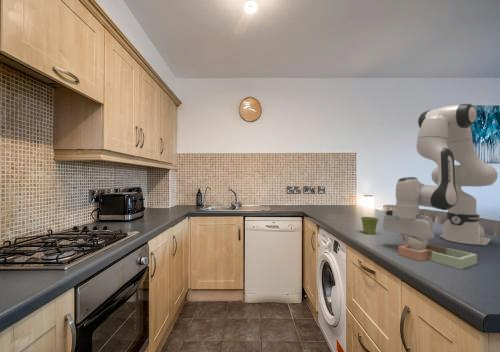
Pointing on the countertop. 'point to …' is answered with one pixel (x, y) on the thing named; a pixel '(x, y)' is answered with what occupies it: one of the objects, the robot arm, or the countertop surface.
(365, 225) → the plant pot
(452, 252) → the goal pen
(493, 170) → the robot arm
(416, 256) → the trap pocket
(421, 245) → the block
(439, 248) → the brown piece
